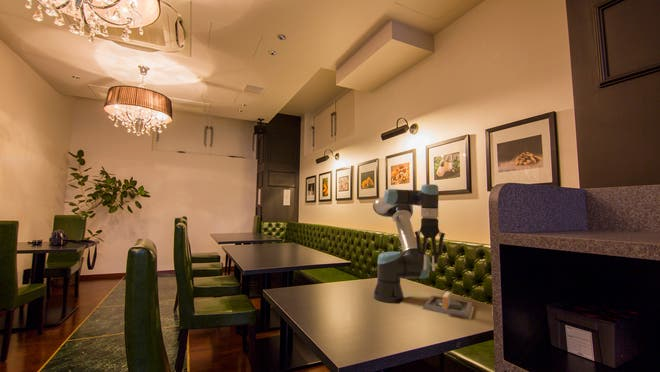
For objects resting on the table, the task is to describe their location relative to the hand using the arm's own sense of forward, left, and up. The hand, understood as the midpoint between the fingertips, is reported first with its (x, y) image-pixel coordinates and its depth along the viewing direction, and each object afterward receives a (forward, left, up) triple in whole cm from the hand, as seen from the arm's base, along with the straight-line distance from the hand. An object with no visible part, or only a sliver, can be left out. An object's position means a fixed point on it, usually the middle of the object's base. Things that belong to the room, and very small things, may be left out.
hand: (429, 269), depth 129 cm
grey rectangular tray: (+7, +8, -19) cm, 21 cm away
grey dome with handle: (+7, +5, -18) cm, 20 cm away
